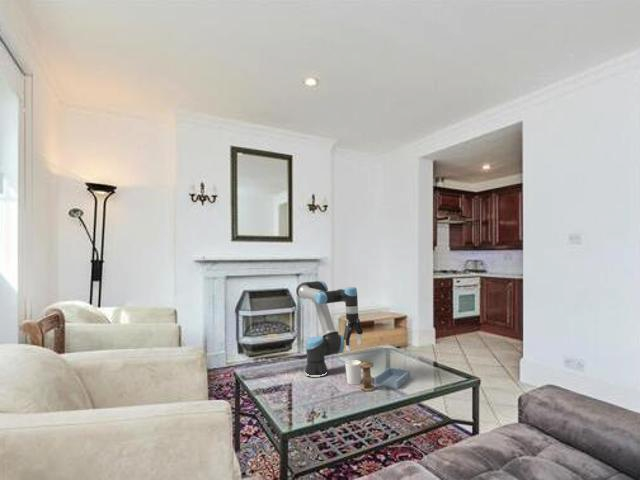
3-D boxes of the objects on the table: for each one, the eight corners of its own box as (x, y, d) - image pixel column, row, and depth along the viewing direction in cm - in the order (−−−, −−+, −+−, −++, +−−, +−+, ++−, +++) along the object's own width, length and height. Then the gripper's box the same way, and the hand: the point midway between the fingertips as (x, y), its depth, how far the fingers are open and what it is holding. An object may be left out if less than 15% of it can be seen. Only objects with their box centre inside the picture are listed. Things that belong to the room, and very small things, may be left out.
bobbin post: (358, 389, 197) (356, 365, 197) (365, 385, 203) (363, 361, 204) (370, 392, 192) (369, 367, 193) (377, 387, 198) (375, 362, 199)
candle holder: (361, 385, 203) (360, 365, 203) (345, 385, 205) (343, 364, 205) (362, 379, 212) (361, 359, 213) (347, 379, 214) (345, 359, 215)
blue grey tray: (374, 384, 203) (374, 377, 203) (389, 374, 219) (388, 367, 219) (397, 389, 194) (397, 381, 194) (410, 377, 210) (410, 370, 211)
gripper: (347, 316, 198) (349, 354, 198) (366, 309, 219) (368, 343, 218) (336, 316, 203) (338, 352, 202) (356, 308, 223) (358, 341, 222)
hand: (354, 347), depth 210 cm, fingers open, 13 cm apart
